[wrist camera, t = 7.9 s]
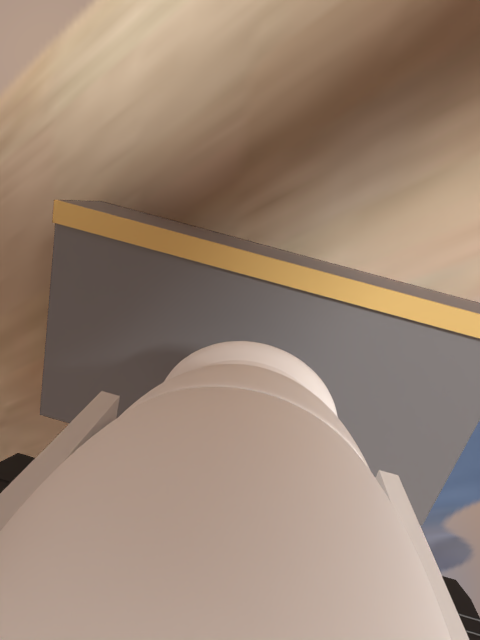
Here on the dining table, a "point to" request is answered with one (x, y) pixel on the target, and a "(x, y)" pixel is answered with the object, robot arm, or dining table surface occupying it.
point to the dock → (261, 332)
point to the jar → (216, 521)
